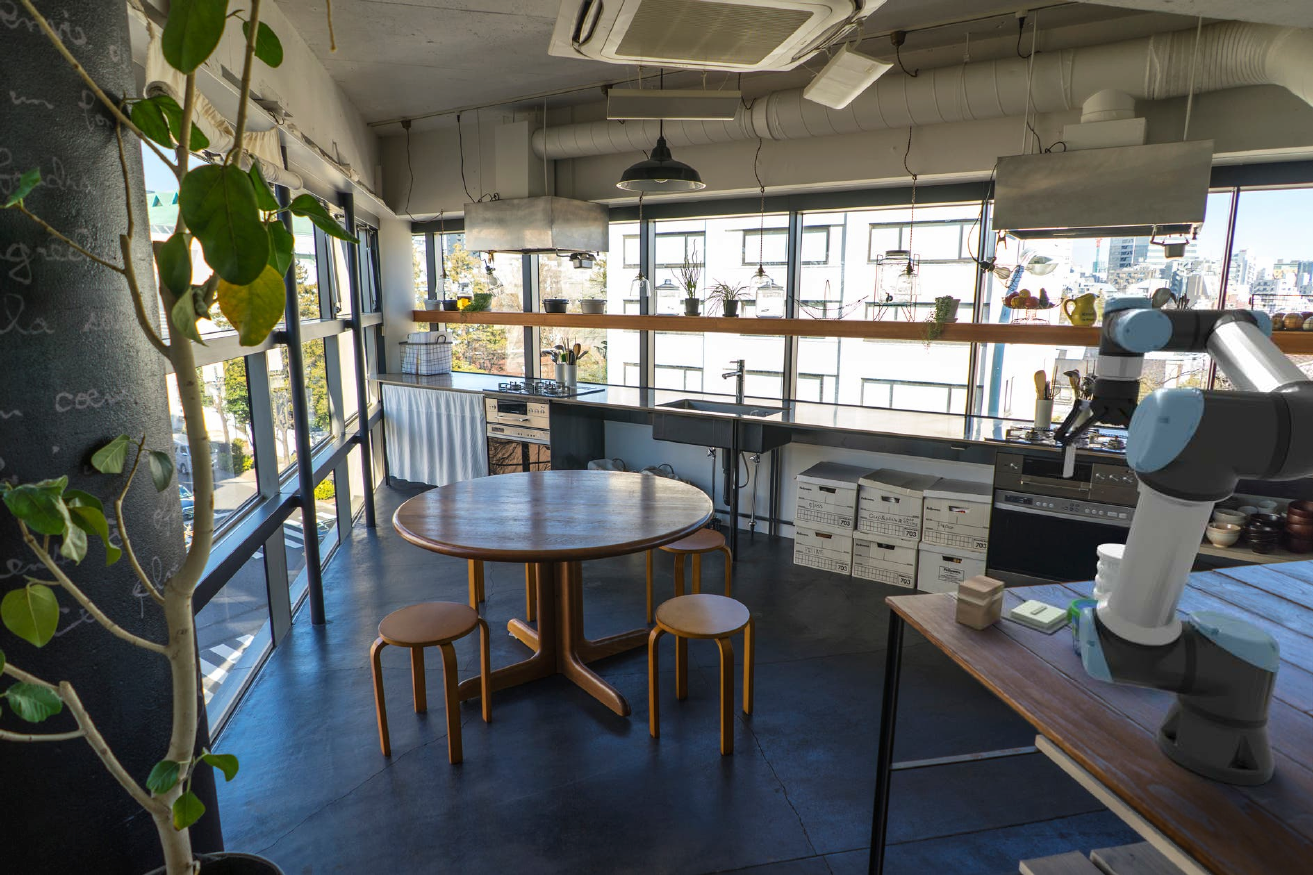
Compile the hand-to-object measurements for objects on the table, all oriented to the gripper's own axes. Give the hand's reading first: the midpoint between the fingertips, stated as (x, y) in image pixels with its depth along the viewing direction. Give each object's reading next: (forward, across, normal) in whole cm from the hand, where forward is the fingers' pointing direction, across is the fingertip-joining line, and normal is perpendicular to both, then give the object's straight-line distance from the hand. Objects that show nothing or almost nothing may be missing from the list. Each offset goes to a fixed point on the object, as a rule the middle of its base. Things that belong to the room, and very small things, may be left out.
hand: (1103, 483), depth 144 cm
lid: (+36, +13, -9) cm, 40 cm away
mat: (+37, +13, -9) cm, 40 cm away
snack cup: (+37, -2, -1) cm, 37 cm away
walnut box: (+37, +21, +3) cm, 42 cm away
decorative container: (+37, 0, -18) cm, 41 cm away
